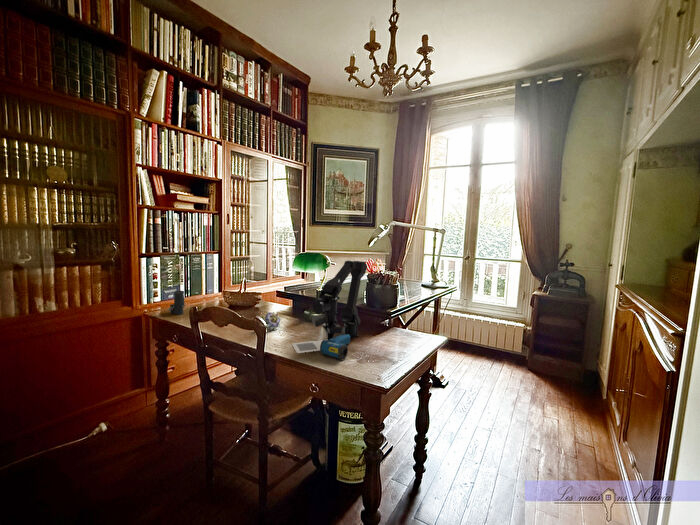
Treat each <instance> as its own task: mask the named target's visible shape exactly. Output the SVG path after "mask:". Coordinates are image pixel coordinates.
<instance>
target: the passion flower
mask: <svg viewBox="0 0 700 525" xmlns="http://www.w3.org/2000/svg"><path fill="white" fill-rule="evenodd" d="M261 318H262V319H263V320H264V321H265V322H266V324H267V327H266V328H269V330H270V331H272V330H273V331H274V332H276V331H277V327H278V328H280V327H281V321H282V318H280V315H279V314H277V313H275V311H272V312H270V311H269V310H266V314H265V315H261V316H260V319H261Z"/></svg>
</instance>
